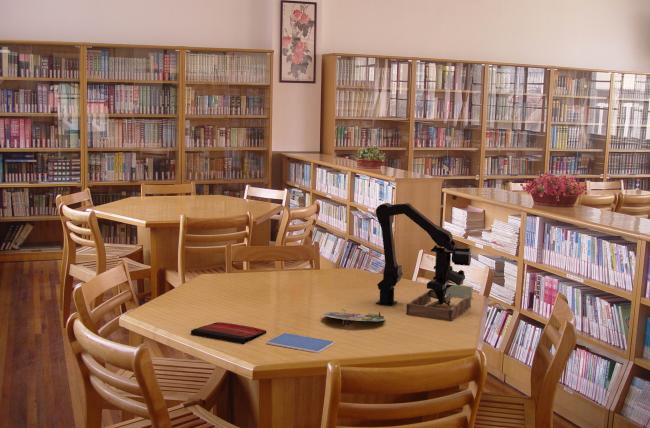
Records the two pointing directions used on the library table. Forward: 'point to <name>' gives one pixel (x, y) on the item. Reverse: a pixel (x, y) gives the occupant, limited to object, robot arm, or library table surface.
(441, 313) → the crate
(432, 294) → the eagle figurine
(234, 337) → the binder
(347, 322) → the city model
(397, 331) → the library table surface
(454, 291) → the stop rail
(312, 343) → the blue book
